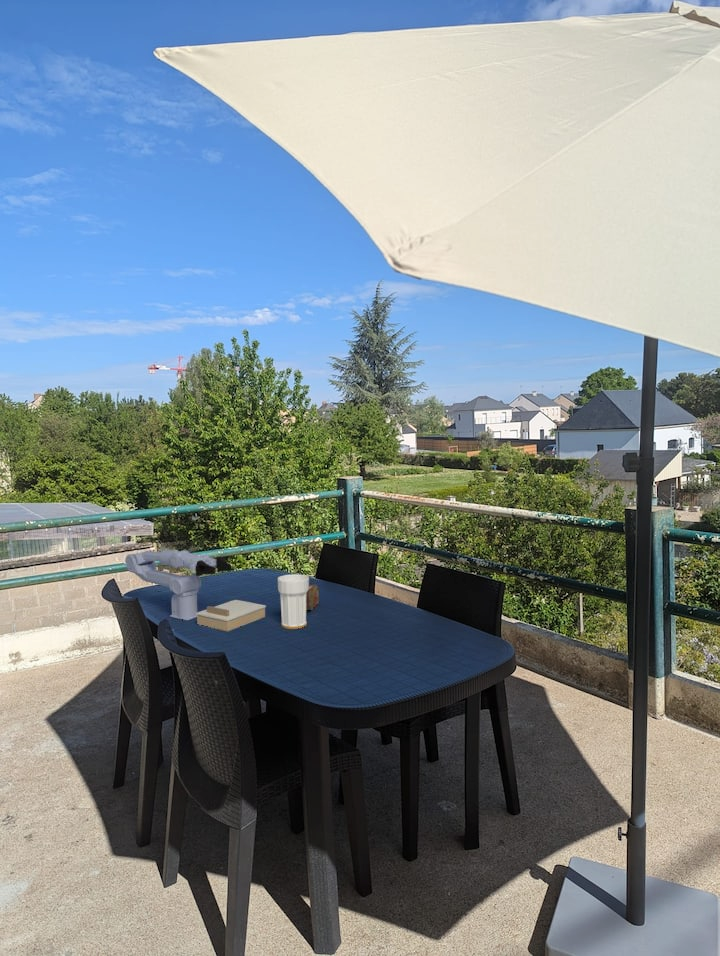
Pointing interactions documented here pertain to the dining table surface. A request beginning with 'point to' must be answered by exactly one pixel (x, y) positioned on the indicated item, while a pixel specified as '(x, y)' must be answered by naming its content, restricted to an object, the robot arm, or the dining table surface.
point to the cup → (293, 600)
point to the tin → (312, 597)
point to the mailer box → (232, 623)
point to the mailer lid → (230, 610)
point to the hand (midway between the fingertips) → (222, 569)
